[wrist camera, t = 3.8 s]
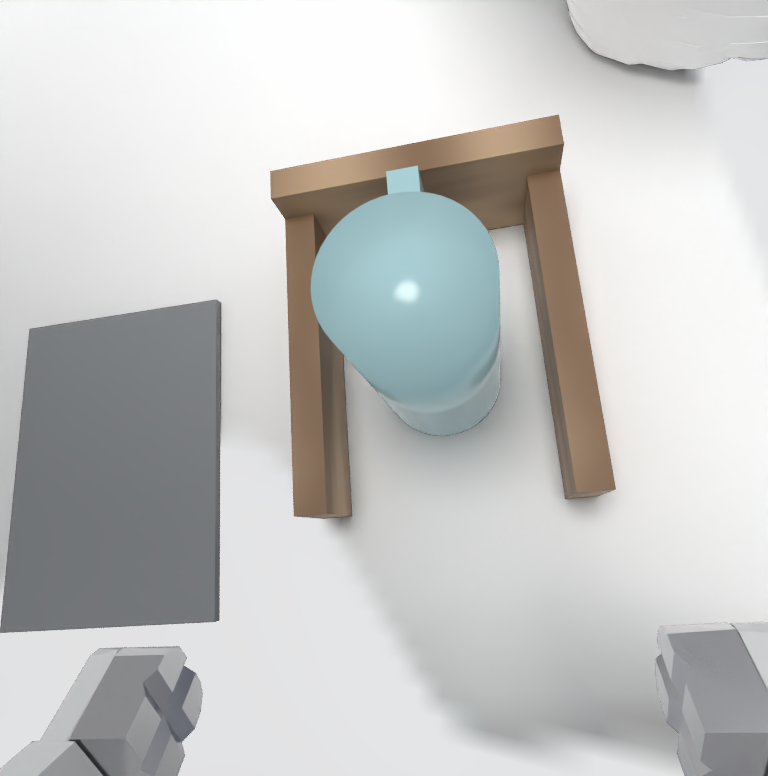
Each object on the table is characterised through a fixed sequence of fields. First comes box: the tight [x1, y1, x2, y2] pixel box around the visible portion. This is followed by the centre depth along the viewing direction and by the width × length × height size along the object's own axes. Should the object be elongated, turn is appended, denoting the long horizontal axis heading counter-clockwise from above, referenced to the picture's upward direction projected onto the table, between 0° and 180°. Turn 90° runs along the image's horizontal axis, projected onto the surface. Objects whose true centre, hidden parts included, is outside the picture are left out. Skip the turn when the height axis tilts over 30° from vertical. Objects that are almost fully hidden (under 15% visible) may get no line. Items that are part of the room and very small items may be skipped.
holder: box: [270, 115, 616, 519], centre depth 22 cm, size 11×13×5 cm
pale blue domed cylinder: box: [311, 166, 501, 436], centre depth 19 cm, size 5×7×10 cm
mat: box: [0, 300, 221, 633], centre depth 26 cm, size 10×14×1 cm
